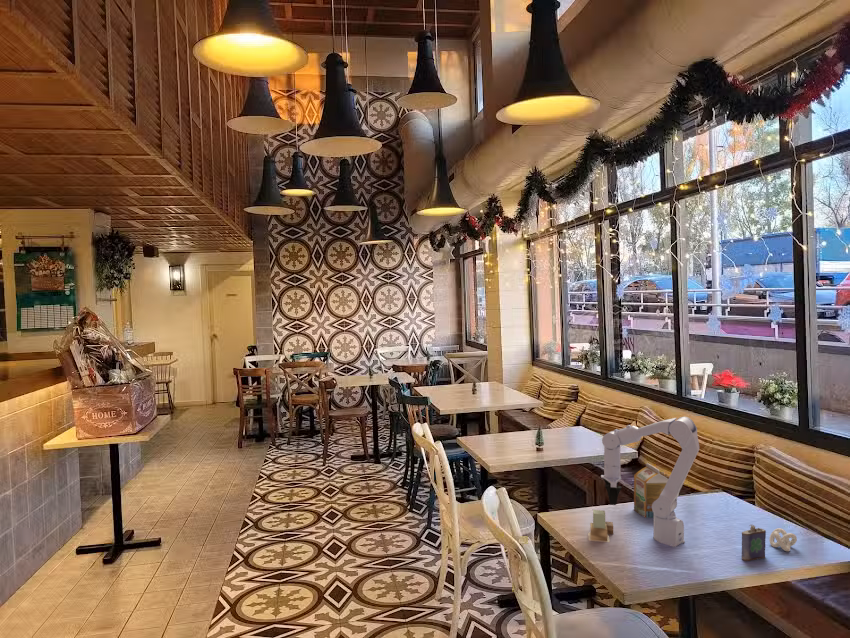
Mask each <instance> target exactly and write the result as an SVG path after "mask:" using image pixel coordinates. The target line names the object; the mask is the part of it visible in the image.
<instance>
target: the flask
mask: <svg viewBox="0 0 850 638" xmlns="http://www.w3.org/2000/svg"><path fill="white" fill-rule="evenodd" d="M748 527H750V528H749V529H748V530H744V531H742V532H741V560H742V561H744V562H751V561H756V560H760V559H765V558H766V533H767V531H766V530H765V529H763V528H761V527H757V528H756V526H755V525H754V524H749V525H748Z"/></svg>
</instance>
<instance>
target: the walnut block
mask: <svg viewBox="0 0 850 638" xmlns="http://www.w3.org/2000/svg"><path fill="white" fill-rule="evenodd" d="M605 524H607V534H608V535H614V524H613V521H605Z"/></svg>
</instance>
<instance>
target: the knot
mask: <svg viewBox="0 0 850 638" xmlns="http://www.w3.org/2000/svg"><path fill="white" fill-rule="evenodd" d="M780 534H782V536H781V535H780ZM790 538H791V539H790ZM768 539H769V544H770V546H772V548H779V547H780V548H781V549H782V550H783V551H784V552H790V550H791V547H792V546H794V545H795V544H796V543H797V541H798V538H797V535H796V534H794V533H791V532H789V533H788V532H787V531H786V530H785V529H783V528H779V527H778V528H774V530H773V531H772V532H771V534H770V535H769V538H768ZM775 540H776V542H775Z"/></svg>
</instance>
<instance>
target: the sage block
mask: <svg viewBox="0 0 850 638" xmlns="http://www.w3.org/2000/svg"><path fill="white" fill-rule="evenodd" d="M605 522H606V511H605V510H601V509H592V523H593V528H602V529H605Z"/></svg>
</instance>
